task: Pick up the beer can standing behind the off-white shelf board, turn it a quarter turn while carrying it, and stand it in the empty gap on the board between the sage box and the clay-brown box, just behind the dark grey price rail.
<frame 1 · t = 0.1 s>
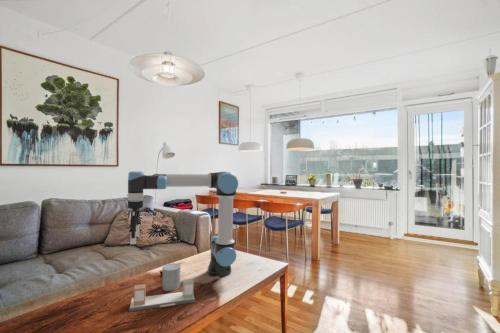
hand: (134, 240, 139), 28 cm above the table, fingers open, 13 cm apart
beer can: (171, 289, 144), on the table
sage box: (187, 296, 134), point 1 cm above the table, touching shelf board
clay box: (139, 302, 127), point 1 cm above the table, touching shelf board
shelf board: (163, 302, 130), on the table
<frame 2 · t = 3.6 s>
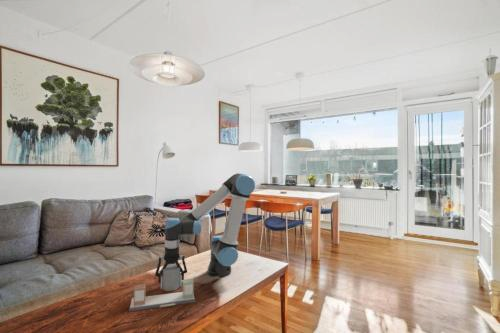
hand: (171, 286, 144), 1 cm above the table, fingers closed on beer can, 9 cm apart
beer can: (171, 289, 144), on the table, touching gripper
everything else where it was.
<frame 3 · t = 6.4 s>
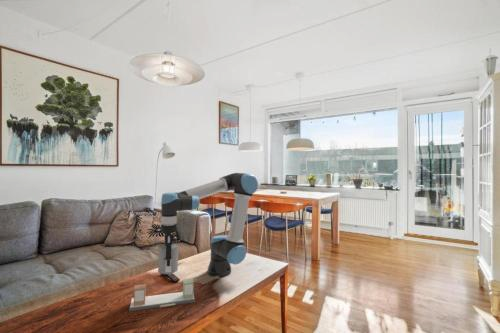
hand: (168, 267, 131), 17 cm above the table, fingers closed on beer can, 9 cm apart
beer can: (168, 270, 131), point 15 cm above the table, touching gripper
everything else where it was.
when the fingers open (4 cm above the table, at t = 9.1 s): beer can drops 1 cm, resting on shelf board.
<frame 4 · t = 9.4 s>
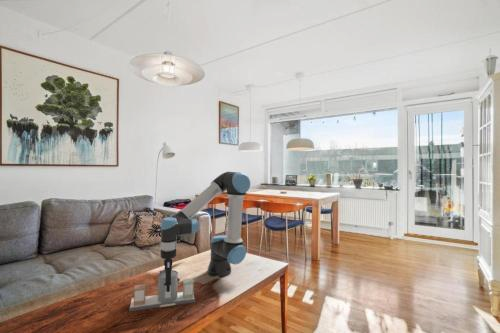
hand: (167, 290, 132), 5 cm above the table, fingers open, 13 cm apart
beer can: (167, 298, 132), point 1 cm above the table, touching shelf board
everything else where it was.
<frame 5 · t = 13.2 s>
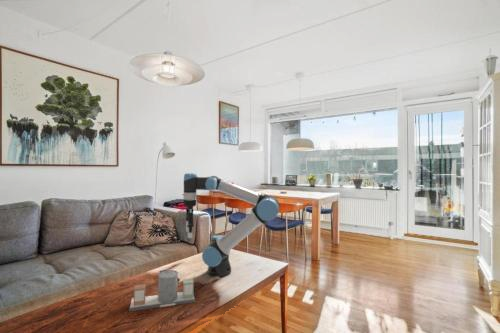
hand: (189, 234, 156), 27 cm above the table, fingers open, 13 cm apart
nothing on the table moved.
at the end: beer can inside the target area (0.5 cm from its centre), point 1.0 cm above the table; beer can tilted 0°; the gripper is holding nothing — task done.
